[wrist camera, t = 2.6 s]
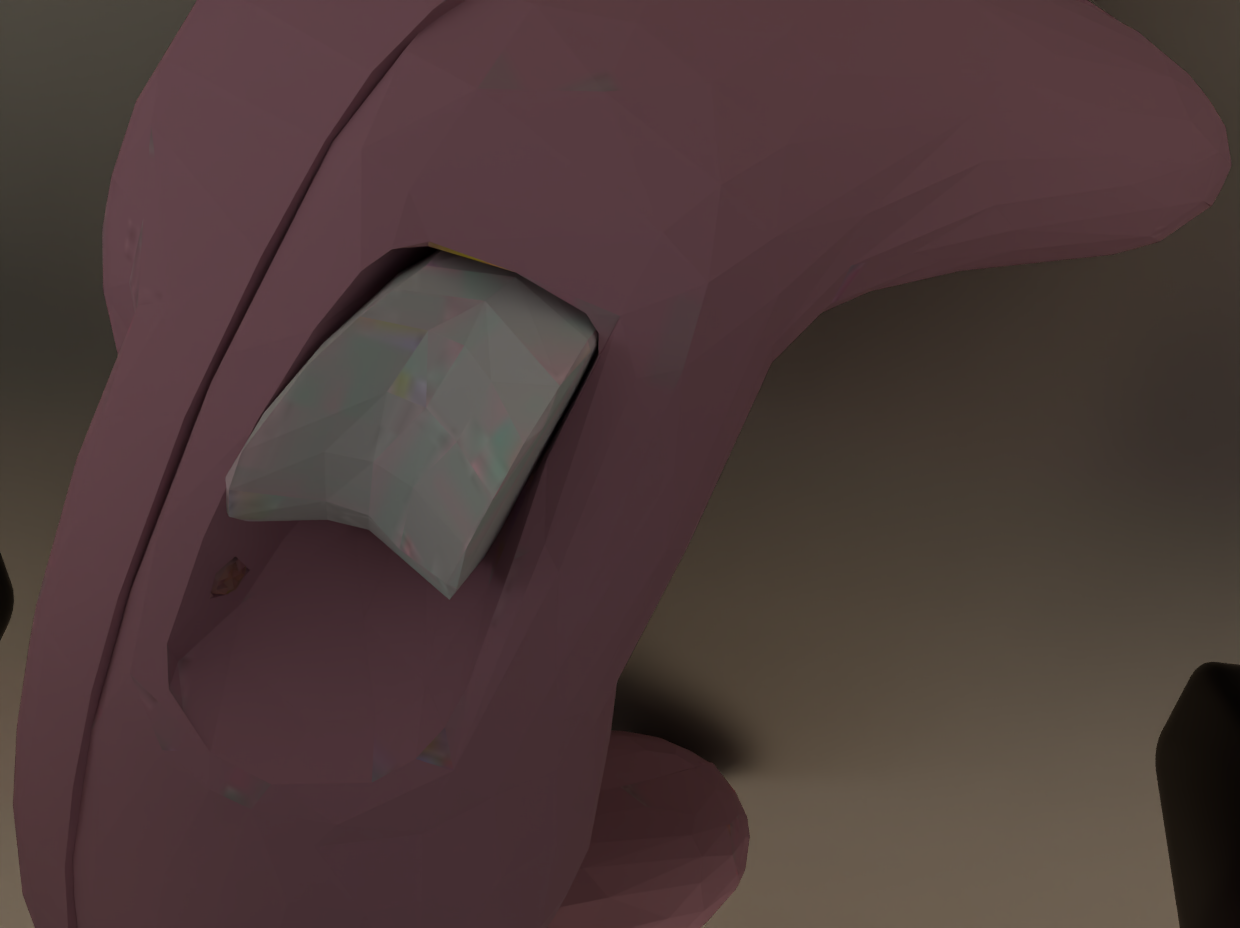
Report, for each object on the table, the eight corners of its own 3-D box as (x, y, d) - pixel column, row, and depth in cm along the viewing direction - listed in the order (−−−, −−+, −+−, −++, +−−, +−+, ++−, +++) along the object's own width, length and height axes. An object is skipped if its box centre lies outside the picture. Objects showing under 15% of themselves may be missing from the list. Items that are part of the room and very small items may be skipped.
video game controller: (745, -197, 9) (-288, -393, 3) (1311, 57, 7) (1141, 425, 2) (462, 637, 14) (-79, 1063, 9) (751, 862, 13) (322, 1513, 8)
